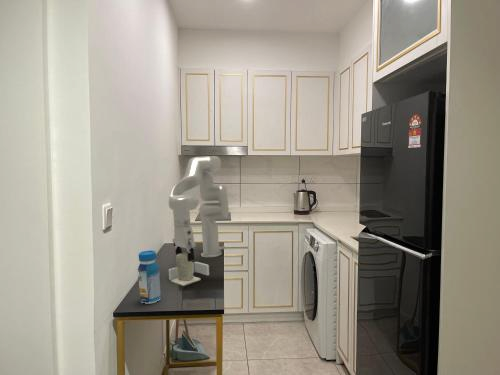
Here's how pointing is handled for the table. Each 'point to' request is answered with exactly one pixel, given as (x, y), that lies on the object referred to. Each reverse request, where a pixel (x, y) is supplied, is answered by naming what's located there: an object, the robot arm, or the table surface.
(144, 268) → the beverage bottle
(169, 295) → the table surface
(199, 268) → the wall short
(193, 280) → the tile
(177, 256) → the skincare box
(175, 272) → the wall long
